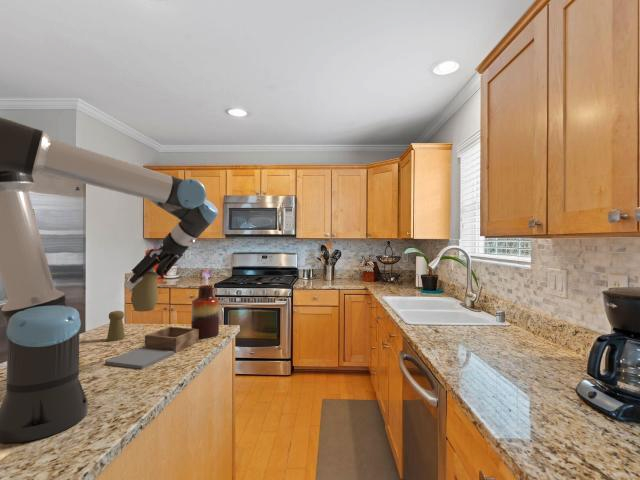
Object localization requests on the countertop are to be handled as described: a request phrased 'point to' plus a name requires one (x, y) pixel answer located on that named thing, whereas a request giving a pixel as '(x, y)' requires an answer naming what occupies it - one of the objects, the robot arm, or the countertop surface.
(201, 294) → the vase
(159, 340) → the bottle holder
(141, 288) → the squeeze bottle
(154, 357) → the slate mat
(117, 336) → the cork
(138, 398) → the countertop surface
